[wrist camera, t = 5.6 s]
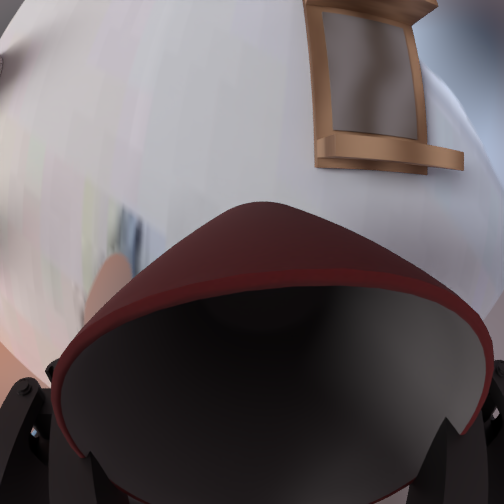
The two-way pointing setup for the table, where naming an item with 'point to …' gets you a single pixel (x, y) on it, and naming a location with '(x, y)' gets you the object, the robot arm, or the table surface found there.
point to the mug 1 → (1, 65)
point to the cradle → (370, 87)
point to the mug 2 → (271, 367)
